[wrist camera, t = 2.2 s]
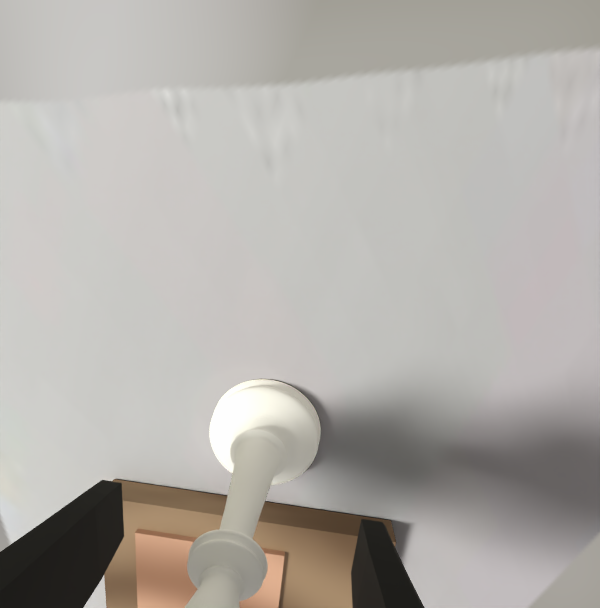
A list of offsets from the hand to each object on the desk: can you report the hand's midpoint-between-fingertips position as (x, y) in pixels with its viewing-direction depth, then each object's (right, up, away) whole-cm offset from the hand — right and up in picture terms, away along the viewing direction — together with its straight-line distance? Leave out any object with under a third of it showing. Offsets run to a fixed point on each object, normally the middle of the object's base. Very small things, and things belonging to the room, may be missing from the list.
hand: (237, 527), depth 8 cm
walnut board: (-1, -9, +7) cm, 11 cm away
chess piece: (0, +1, +5) cm, 5 cm away
